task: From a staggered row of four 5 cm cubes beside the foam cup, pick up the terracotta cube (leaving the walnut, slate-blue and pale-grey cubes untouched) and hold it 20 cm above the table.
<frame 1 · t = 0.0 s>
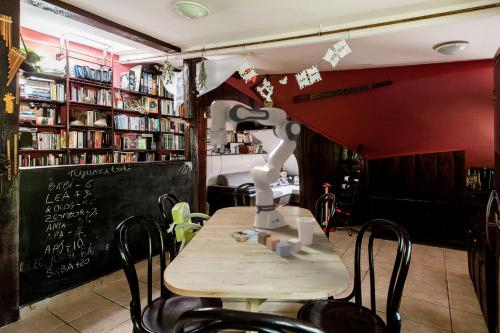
hand: (218, 152, 170), 48 cm above the table, fingers open, 8 cm apart
terracotta cube: (273, 248, 148), on the table
foam cup: (305, 243, 155), on the table
slate blue cube: (282, 254, 140), on the table
pale grey cube: (294, 250, 145), on the table
walnut cube: (264, 242, 156), on the table
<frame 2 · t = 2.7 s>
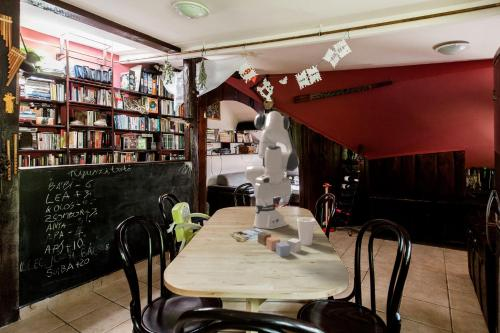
hand: (273, 205, 146), 22 cm above the table, fingers open, 8 cm apart
nothing on the table moved.
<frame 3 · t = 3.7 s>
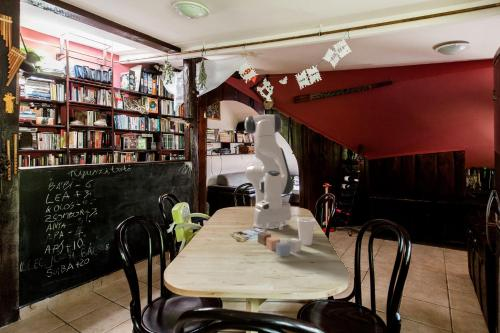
hand: (273, 230, 147), 9 cm above the table, fingers open, 8 cm apart
nothing on the table moved.
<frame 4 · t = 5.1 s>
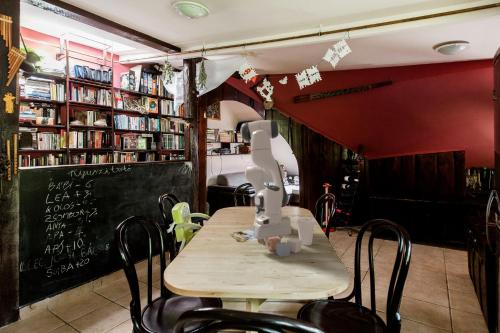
hand: (273, 244, 148), 2 cm above the table, fingers closed on terracotta cube, 5 cm apart
terracotta cube: (273, 248, 148), on the table, touching gripper
everything else where it was.
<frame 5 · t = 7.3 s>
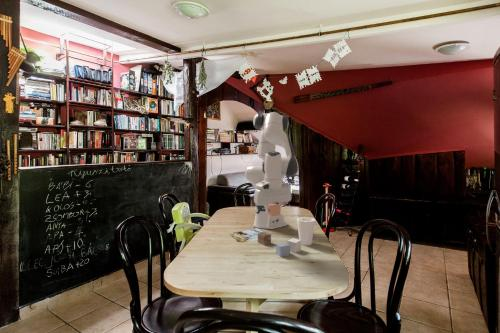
hand: (273, 211, 146), 19 cm above the table, fingers closed on terracotta cube, 5 cm apart
terracotta cube: (273, 214, 147), point 17 cm above the table, touching gripper
everything else where it was.
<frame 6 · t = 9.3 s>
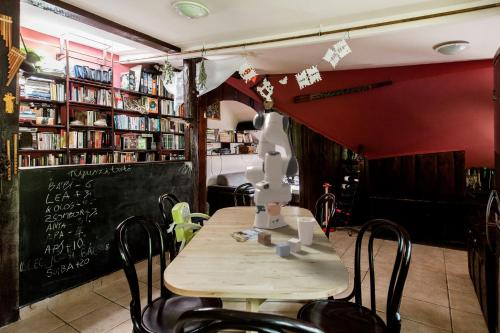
hand: (273, 211, 146), 19 cm above the table, fingers closed on terracotta cube, 5 cm apart
terracotta cube: (273, 214, 146), point 17 cm above the table, touching gripper
everything else where it was.
at the end: the gripper is holding terracotta cube; terracotta cube point 17.4 cm above the table; walnut cube moved 0.1 cm from its start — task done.
